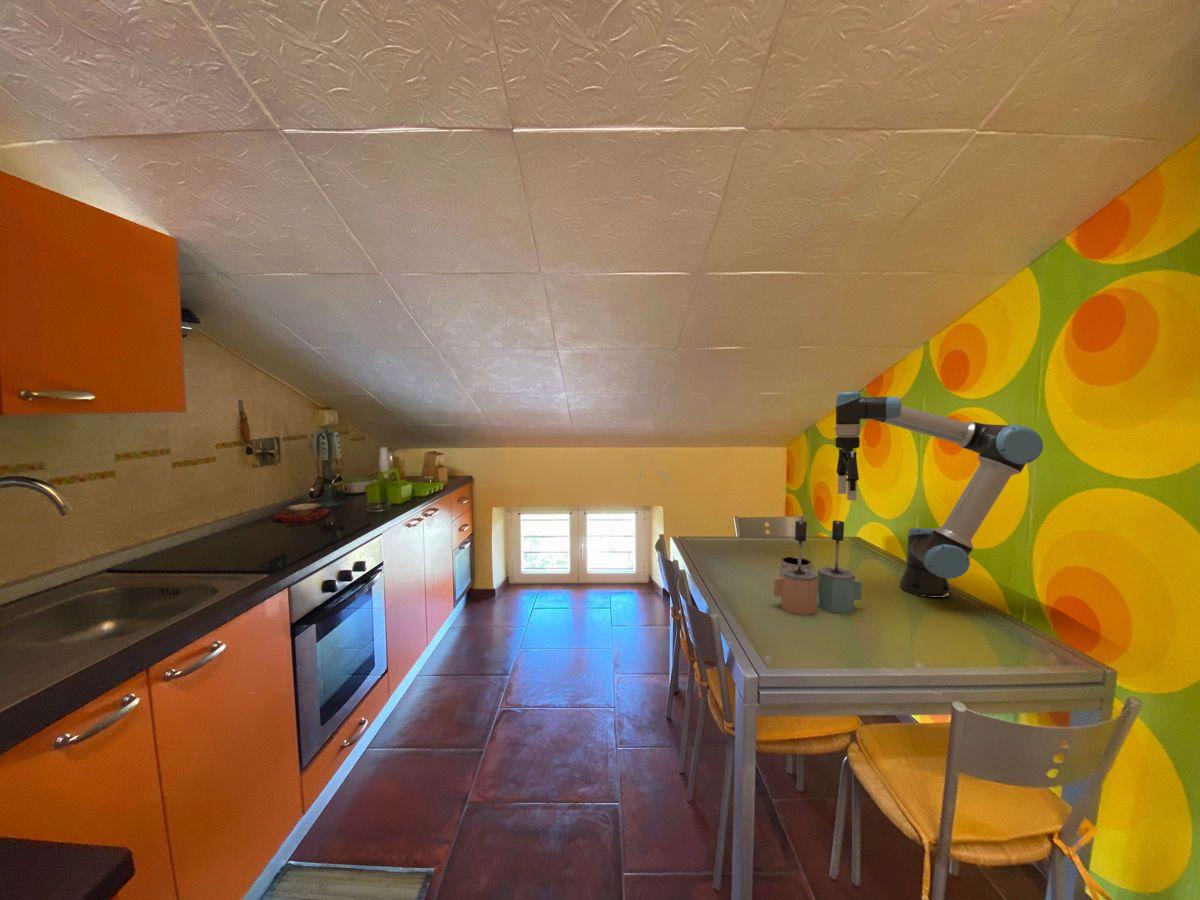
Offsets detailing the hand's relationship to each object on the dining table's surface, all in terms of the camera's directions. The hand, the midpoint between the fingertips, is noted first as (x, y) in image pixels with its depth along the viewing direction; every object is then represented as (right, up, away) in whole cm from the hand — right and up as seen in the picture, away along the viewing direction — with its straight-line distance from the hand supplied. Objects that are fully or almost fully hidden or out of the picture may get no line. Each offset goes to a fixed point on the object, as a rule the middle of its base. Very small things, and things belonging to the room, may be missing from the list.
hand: (846, 496), depth 167 cm
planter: (-13, -35, +12) cm, 39 cm away
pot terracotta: (-22, -36, -9) cm, 43 cm away
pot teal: (-7, -36, -9) cm, 38 cm away
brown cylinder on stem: (-21, -27, -10) cm, 35 cm away
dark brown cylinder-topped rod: (-8, -27, -9) cm, 30 cm away
